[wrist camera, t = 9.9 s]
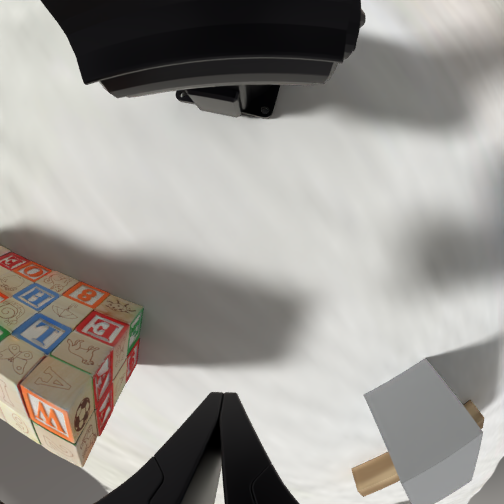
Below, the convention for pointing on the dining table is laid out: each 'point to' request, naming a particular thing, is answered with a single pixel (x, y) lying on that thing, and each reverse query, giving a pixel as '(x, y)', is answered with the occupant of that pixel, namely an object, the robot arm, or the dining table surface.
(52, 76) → the dining table surface
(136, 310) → the stack of blocks
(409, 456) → the block
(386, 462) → the brown wooden long bar
